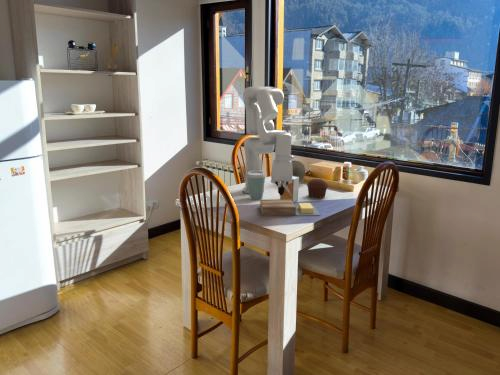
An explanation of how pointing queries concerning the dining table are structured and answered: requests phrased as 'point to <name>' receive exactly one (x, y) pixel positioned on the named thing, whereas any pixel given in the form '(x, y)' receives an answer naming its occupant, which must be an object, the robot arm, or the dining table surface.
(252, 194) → the disposable coffee cup
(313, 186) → the muffin
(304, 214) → the mat
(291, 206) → the deck
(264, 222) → the dining table surface
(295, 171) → the cantaloupe
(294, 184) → the small box
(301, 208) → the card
